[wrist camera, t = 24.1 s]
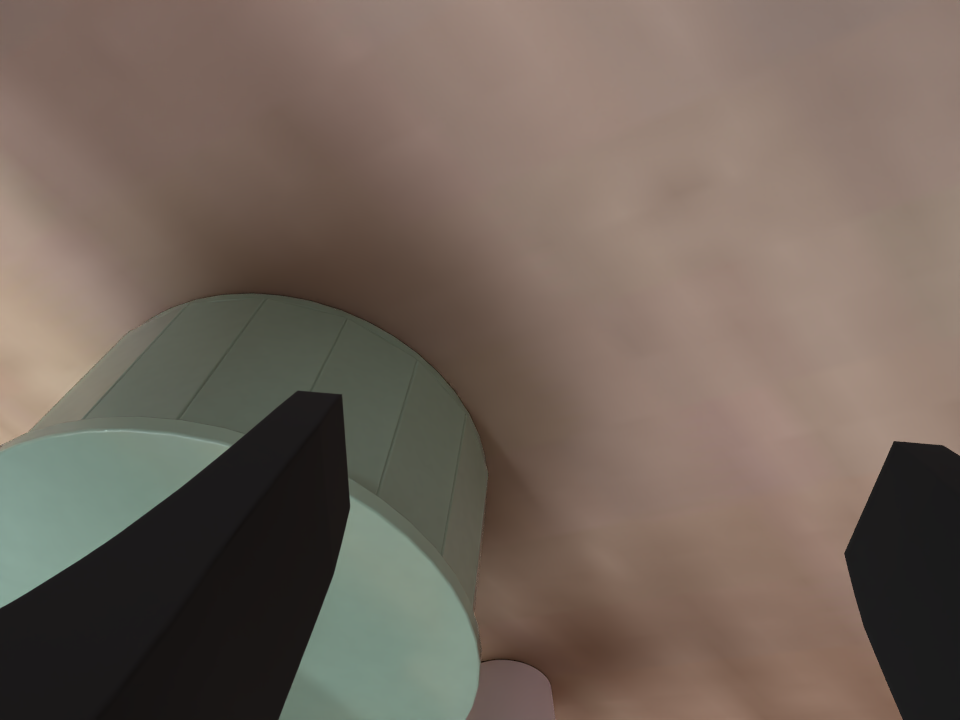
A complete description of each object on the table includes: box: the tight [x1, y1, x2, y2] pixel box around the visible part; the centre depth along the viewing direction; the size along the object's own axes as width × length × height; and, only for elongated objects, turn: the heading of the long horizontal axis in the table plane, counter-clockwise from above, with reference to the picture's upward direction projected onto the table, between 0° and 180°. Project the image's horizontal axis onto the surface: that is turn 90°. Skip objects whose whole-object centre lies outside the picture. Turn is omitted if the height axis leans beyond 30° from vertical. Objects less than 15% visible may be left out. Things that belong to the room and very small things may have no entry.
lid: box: [0, 416, 482, 720], centre depth 18 cm, size 14×14×4 cm
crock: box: [29, 293, 488, 612], centre depth 22 cm, size 13×13×6 cm
